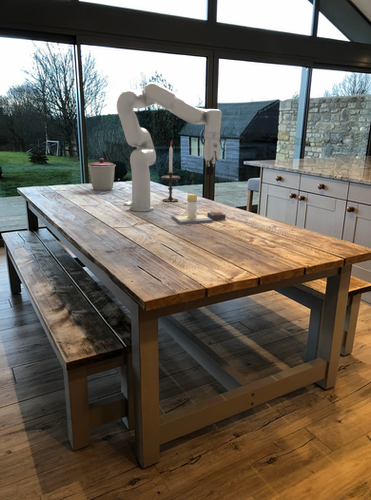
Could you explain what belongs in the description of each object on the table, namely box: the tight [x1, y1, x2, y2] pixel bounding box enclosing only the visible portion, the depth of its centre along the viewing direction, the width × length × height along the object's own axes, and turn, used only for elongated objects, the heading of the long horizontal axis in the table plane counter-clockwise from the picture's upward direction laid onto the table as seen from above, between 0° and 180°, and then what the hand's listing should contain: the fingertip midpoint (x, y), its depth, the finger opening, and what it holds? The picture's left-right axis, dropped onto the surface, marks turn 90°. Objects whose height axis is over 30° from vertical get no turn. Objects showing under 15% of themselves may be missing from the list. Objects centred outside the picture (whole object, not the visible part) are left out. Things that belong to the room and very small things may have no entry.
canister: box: [87, 157, 117, 192], centre depth 273 cm, size 18×18×21 cm
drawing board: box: [171, 213, 213, 225], centre depth 198 cm, size 16×14×1 cm
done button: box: [211, 210, 221, 215], centre depth 202 cm, size 4×4×3 cm
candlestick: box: [160, 140, 181, 203], centre depth 238 cm, size 11×11×35 cm
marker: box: [186, 193, 198, 218], centre depth 196 cm, size 5×5×11 cm
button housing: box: [206, 211, 227, 221], centre depth 202 cm, size 7×7×2 cm
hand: (209, 174), depth 202 cm, fingers closed
